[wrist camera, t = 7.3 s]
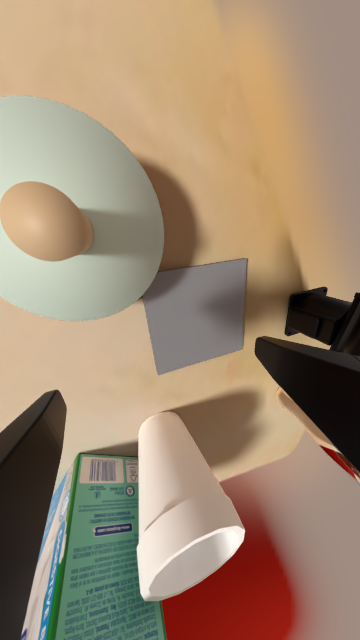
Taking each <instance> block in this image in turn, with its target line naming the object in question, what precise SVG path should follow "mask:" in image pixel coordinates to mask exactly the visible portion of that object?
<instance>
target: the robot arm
mask: <svg viewBox="0 0 360 640" xmlns="http://www.w3.org/2000/svg"><path fill="white" fill-rule="evenodd" d="M326 294H327V288H326V287H321V288H316V289H312V290H307V291H303V292H299V293H295V294H292V295H291V297H290V302H289V308H288V315H287V321H286V327H285V335H287V336H291V335H294V334H297V333H302V334H304V335H306V336H308V337H310V338H313V339H316V340H318V341H320V342H322V343H324V344H327V345H329V346H330V345H331V347H330V349H329V350H327V349H322V348H318V347H313V346H308V345H304V344H299V343H295V342H290V341H285V340H281V339H276V338H272V337H267V336H262V337H258V338H257V339H256V342H255V355H256V357H257V358H258V359H259V361H260V362H261V363H262V365H263V366H264V367H265V369H266V370H267V371H268V373H269V374H270V375H271V376H272V378H273V379H274V380H275V381H276V382H277V384H278V385H279V386H280V387H281V388H282V389H283V390H284V391H285V392H286V393H287V395H288V396H289V397H290V398H291V399H292V400H293V401H294V402H295V403H296V404H297V405H298V406H299V408H300V409H301V410H302V411H303V412H304V413H305V414H306V415H307V416H308V417H309V418H310V420H311V421H312V422H313V423H314V424H315V425H316V426H317V427H318V428H319V429H320V430H321V432H322V433H323V434H324V435H325V436H326V437H327V438H328V439H329V440H330V441H331V442H332V443H333V445H334V446H335V447H336V448H337V449H338V450H339V451H340V452H341V453H342V454H343V455H344V457H345V458H346V459H347V460H348V461H349V462H350V463H351V464H352V465H353V466H354V467H355V468H356V470H357V471H358V472H359V473H360V293H356V294H355V296H354V297H355V298H354V300H353V302H348V301H343V300H340V299H336V298H332V297H328V296H326ZM66 412H67V408H66V404H65V402H64V400H63V397H62V395H61V393H60V391H59V390H53V391H49V392H46V393H44V394H43V395H42V396H41V397H40V398H39V399H38V400H36V401H35V402H34V403H33V404H32V405H31V406H30V407H29V408H27V409H26V410H25V411H24V412H23V413H22V414H21V415H20V416H19V417H17V418H16V419H15V420H14V421H13V422H12V423H11V424H10V425H8V426H7V427H6V428H5V429H4V430H3V431H2V432H1V433H0V640H20V639H21V635H22V630H23V626H24V621H25V617H26V612H27V608H28V603H29V599H30V594H31V590H32V585H33V581H34V576H35V572H36V567H37V563H38V558H39V554H40V549H41V545H42V540H43V536H44V531H45V527H46V522H47V518H48V513H49V509H50V504H51V500H52V495H53V491H54V486H55V482H56V477H57V473H58V468H59V464H60V459H61V454H62V448H63V440H64V430H65V421H66Z"/></svg>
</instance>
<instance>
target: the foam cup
mask: <svg viewBox="0 0 360 640" xmlns="http://www.w3.org/2000/svg"><path fill="white" fill-rule="evenodd" d="M138 455H139V544H138V546H137V560H138V572H139V583H140V593H141V595H142V597H143V599H144V601H160V600H163V599H166V598H169V597H172V596H174V595H177V594H179V593H181V592H183V591H185V590H187V589H189V588H190V587H192V586H194V585H196V584H197V583H199V582H201V581H202V580H203V579H205V578H206V577H207V576H209V575H210V574H212V573H213V572H214V571H216V570H217V569H218V568H220V567H221V566H222V565H223V564H224V563H225V562H226V561H227V560H228V559H229V558H230V557H231V556H232V555H233V554H234V553H235V552H236V550H237V548H238V547H239V546H240V544H241V543H242V542H243V540H244V533H245V529H244V527H243V525H242V523H241V521H240V518H239V516H238V514H237V512H236V510H235V508H234V506H233V504H232V501H231V499H230V498H229V497H228V496H226V495H225V493H224V491H223V489H222V488H221V486H220V484H219V483H218V481H217V479H216V477H215V476H214V474H213V472H212V471H211V469H210V467H209V466H208V464H207V462H206V460H205V459H204V457H203V455H202V454H201V452H200V450H199V448H198V447H197V445H196V443H195V442H194V440H193V438H192V436H191V435H190V433H189V431H188V430H187V428H186V426H185V425H184V423H183V421H182V420H181V418H180V417H179V416H178V415H177V414H176V413H173V412H169V411H167V412H161V413H157V414H155V415H153V416H151V417H149V418H148V419H147V420H146V421H145V422H144V423H143V424H142V425H141V428H140V430H139V437H138Z"/></svg>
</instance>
